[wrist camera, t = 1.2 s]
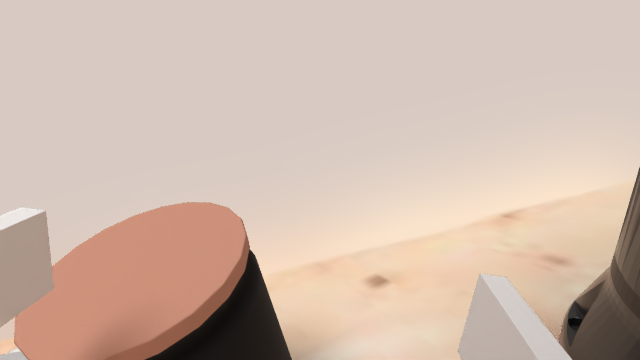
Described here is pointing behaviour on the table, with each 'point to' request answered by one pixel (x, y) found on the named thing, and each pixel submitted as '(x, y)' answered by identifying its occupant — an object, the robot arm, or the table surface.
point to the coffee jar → (157, 294)
